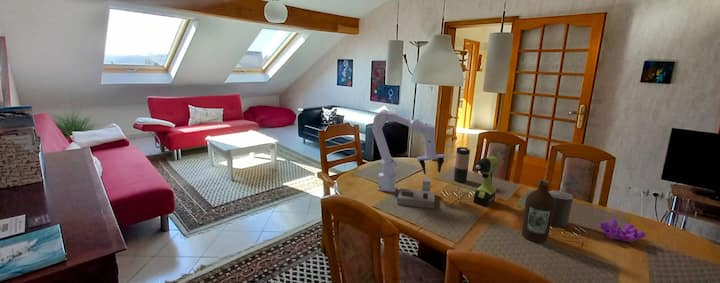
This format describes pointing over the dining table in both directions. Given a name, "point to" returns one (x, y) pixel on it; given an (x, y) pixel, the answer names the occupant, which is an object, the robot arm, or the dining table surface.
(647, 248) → the dining table surface
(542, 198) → the olive oil
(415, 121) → the robot arm
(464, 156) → the travel mug
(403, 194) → the socket block
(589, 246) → the dining table surface
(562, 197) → the pillar candle
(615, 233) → the purple coral
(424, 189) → the square peg
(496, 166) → the cordless drill
